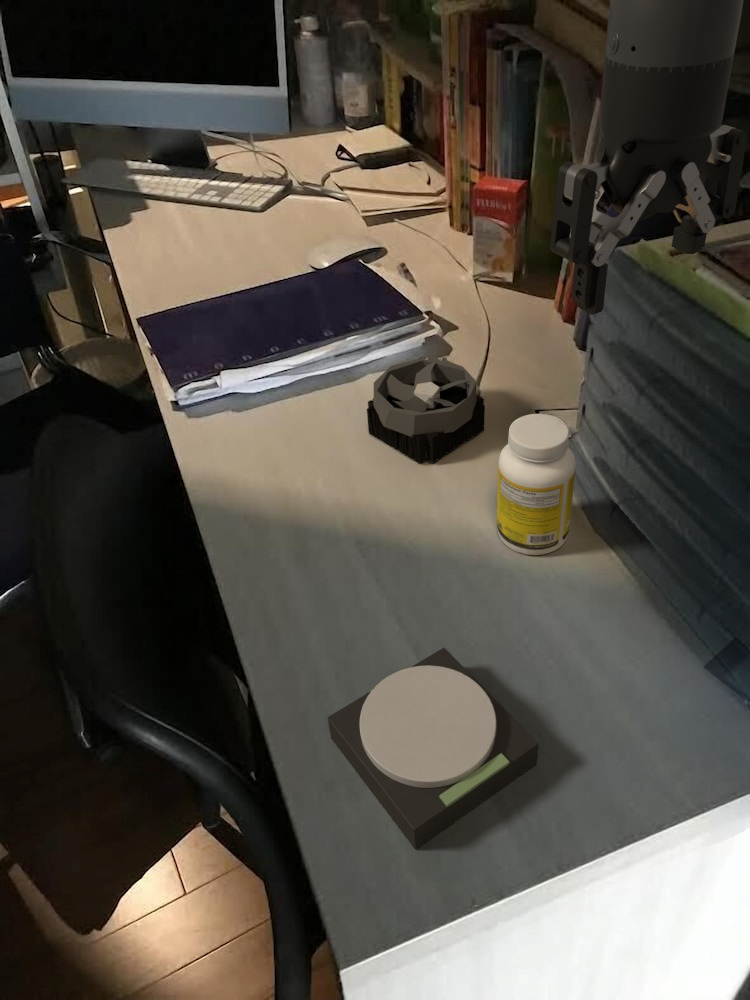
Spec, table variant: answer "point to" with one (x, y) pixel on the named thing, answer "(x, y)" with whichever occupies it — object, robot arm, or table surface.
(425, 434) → the cpu cooler
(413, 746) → the scale
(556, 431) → the pill bottle
